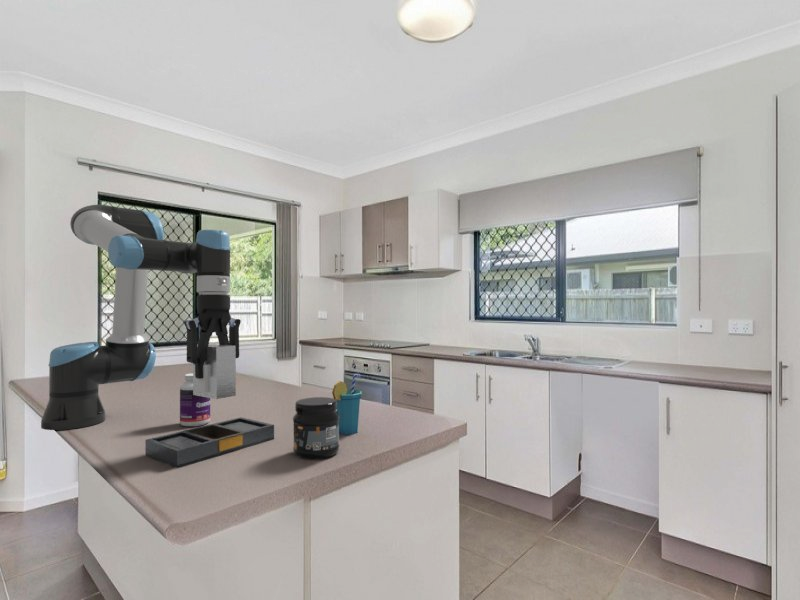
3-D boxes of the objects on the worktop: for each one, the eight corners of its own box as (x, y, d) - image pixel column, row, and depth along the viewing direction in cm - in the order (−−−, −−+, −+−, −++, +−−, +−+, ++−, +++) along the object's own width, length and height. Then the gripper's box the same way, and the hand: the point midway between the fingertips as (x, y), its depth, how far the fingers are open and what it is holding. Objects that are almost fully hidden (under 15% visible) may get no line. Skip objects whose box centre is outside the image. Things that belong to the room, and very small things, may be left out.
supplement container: (299, 445, 107) (299, 396, 108) (342, 446, 107) (342, 396, 107) (287, 461, 97) (287, 406, 97) (335, 461, 96) (334, 406, 97)
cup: (348, 423, 128) (347, 371, 128) (372, 425, 125) (372, 372, 126) (324, 436, 115) (324, 378, 115) (351, 439, 112) (351, 380, 112)
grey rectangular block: (193, 394, 108) (193, 345, 108) (212, 391, 112) (212, 344, 112) (216, 399, 102) (216, 347, 102) (235, 395, 106) (235, 345, 106)
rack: (145, 455, 101) (145, 439, 101) (241, 430, 121) (241, 417, 121) (177, 468, 92) (178, 451, 93) (274, 439, 113) (274, 425, 113)
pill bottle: (198, 428, 123) (198, 376, 124) (173, 427, 125) (173, 376, 125) (216, 421, 131) (216, 372, 132) (192, 419, 133) (192, 371, 133)
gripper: (185, 292, 98) (185, 398, 97) (254, 294, 113) (255, 386, 112) (168, 293, 102) (168, 394, 102) (237, 295, 117) (237, 383, 116)
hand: (214, 389), depth 107 cm, fingers closed on grey rectangular block, 5 cm apart
